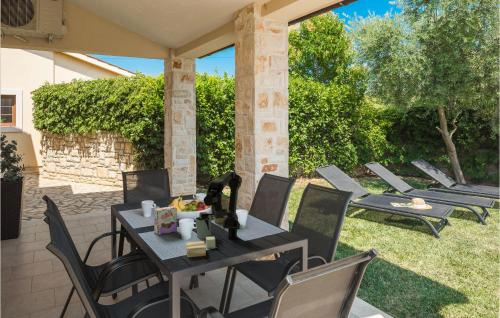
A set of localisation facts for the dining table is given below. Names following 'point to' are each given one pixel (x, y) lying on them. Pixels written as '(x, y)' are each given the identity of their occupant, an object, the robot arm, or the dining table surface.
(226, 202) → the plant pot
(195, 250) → the oak block
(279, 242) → the dining table surface
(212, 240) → the sage cube
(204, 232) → the grey green cup
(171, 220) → the candy box
